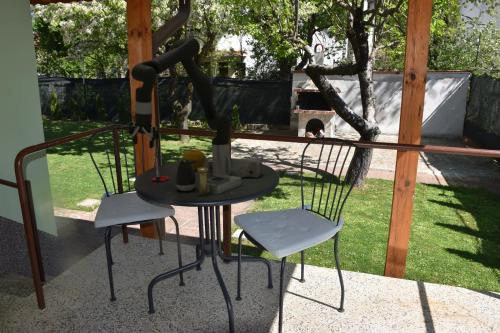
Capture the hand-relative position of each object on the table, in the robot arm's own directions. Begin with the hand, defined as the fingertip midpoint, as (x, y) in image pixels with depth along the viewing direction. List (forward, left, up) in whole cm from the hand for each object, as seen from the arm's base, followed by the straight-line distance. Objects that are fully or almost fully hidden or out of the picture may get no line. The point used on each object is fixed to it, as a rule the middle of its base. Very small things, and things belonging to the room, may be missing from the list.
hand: (143, 146), depth 187 cm
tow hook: (-21, -14, -23) cm, 35 cm away
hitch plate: (-26, +23, -23) cm, 42 cm away
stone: (-52, +22, -23) cm, 61 cm away
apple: (-47, -14, -23) cm, 55 cm away
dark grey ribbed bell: (-15, +11, -23) cm, 30 cm away
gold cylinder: (-14, +23, -23) cm, 35 cm away
